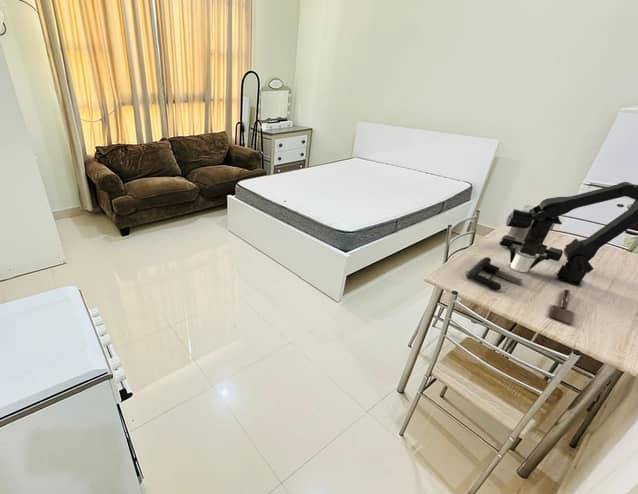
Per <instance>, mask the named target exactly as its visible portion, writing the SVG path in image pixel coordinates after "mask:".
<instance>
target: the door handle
mask: <svg viewBox="0 0 638 494" xmlns="http://www.w3.org/2000/svg"><path fill="white" fill-rule="evenodd" d="M491 262H492V259H491V258H490V257H487V256H486V257H483V258H480V261H478V262H477V263H476V265H474V266H473V267H472V268H470V270H469V271H468V270H466V272H464V273H465V277H466V279H467V280H471V281H474V282H476V283H479V284H481V285H483V286H485V287H488V288H490V289H492V290H494V291H500V289H502V284H501V283H499V282H497V281H494V280H492V279H493V278H494V277H496V276H497V277H500V278H503V279H505V280H507V281H510V282H512V283H514V284H517V285H521V284H522V282H523V279H522V278H520V277H517V276H515V275H512V274H510V273H508V272H506V271H504V270H500V269H501V267H499V266H496V265H495V264H491ZM482 272H483V273H486V274H489V275H491V276H490V277H489V278H488V277H487V276H486V275H481V274H480V273H482Z"/></svg>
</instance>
